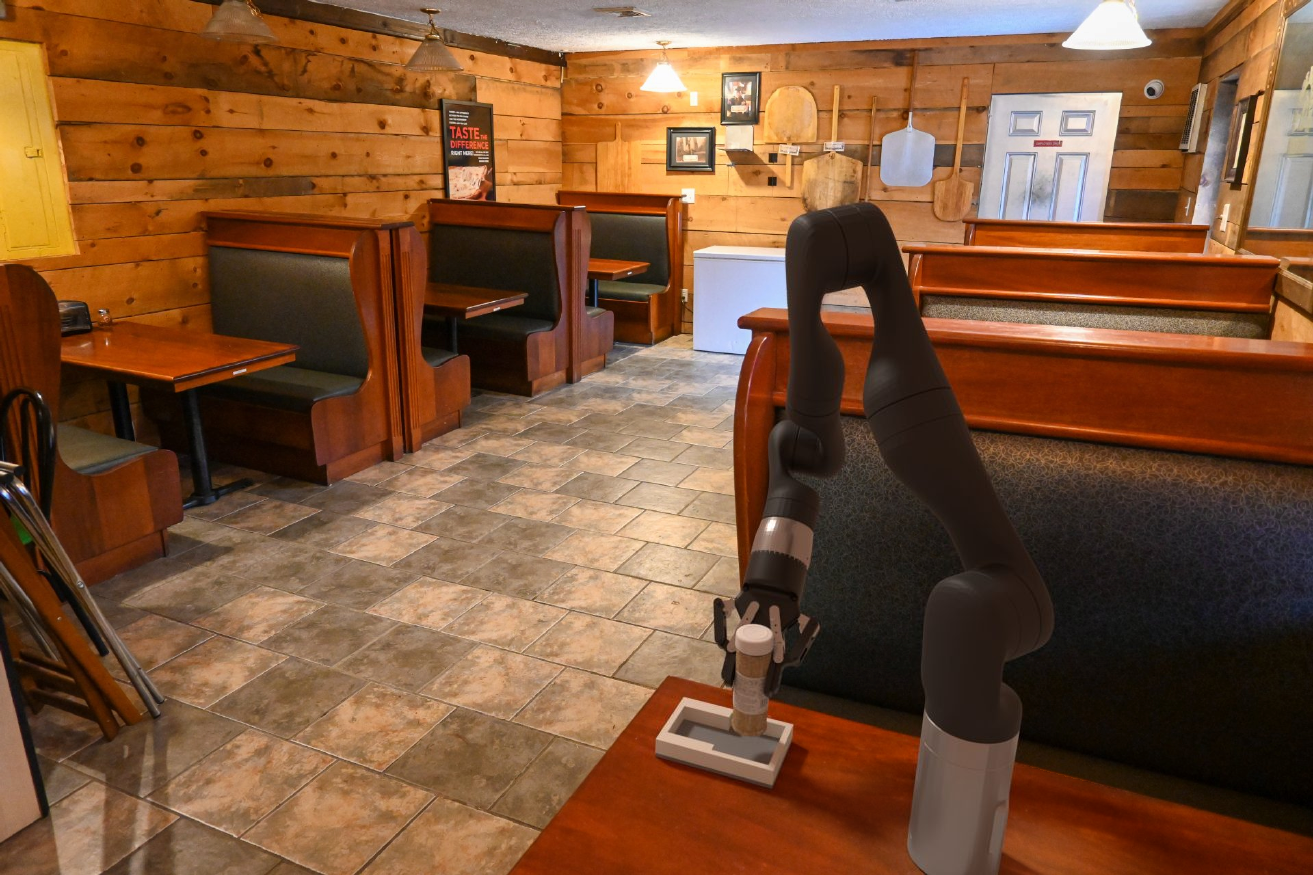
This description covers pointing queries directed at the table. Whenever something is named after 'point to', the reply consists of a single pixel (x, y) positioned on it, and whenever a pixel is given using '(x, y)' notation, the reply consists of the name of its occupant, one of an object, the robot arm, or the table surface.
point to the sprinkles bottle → (751, 679)
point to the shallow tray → (723, 743)
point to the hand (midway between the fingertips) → (747, 689)
